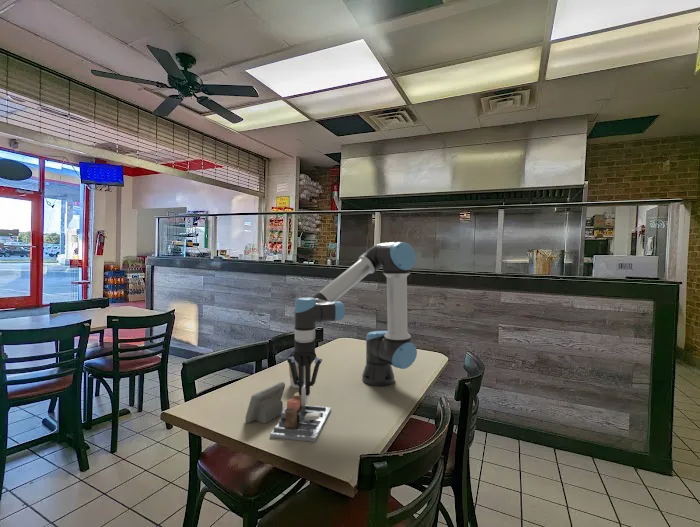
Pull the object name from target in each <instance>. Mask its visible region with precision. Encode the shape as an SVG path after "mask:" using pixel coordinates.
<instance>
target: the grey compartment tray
mask: <svg viewBox="0 0 700 527" xmlns="http://www.w3.org/2000/svg"><path fill="white" fill-rule="evenodd" d="M286 411H287V405H286V406H285V407H284V409H283V411H282V412H281V415H280V419H279V421H278V422H277V424H276V425H275V426H274V427H273V429H272V431H271V432H270V433H269V435H270V436H269V437H270V438H273V439H274V438H275V439H281V440H282V439H283V440H291V441H293V440H294V441H300V442H312V443H316V441H317V440H318V438H319V435H320V434H321V432H322V430H323V427H324V425H325V424H326V421H327V419H328V417H329V415H330V413H331V411H332V408H331V407H327V406H322V405H321V406H320V405H308V404H306V405H304V406H300V410H299V411H298V412H297V427H296V428H295V429H294V428H285V412H286ZM314 412H320V413H321V416H320V418H319V419H317V420H305V419H304V417H305V415H306V414H307V413H314Z"/></svg>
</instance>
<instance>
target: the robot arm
mask: <svg viewBox="0 0 700 527" xmlns="http://www.w3.org/2000/svg"><path fill="white" fill-rule="evenodd" d="M416 258H417V257H416V252H415V249H414V248H413V247H412V246H411V245H410V243H407V242H402V241H392V242H391V241H390V242H380V243H378V244H375V245H373V246H372V247H370V248H369V249H368V250H366V251H365V252H363V253H362V254H361V255H360V256H359V257H358V260H357V261H356V262H355V263H354V264H351V265H350V267H348V268H347V269H346V270H345V271H344V272H342V273H340V275H338V276H337V277H336V278H334V279H333V280H332V281H331V282H329V283H328V284H327V285H325V287H323V288H322V289H321V290H319V291H318V292H317V293H316V294H314V295H313V296H307V297H298V298H297V299H295V302H294V303H295V304H294V351H295V352H294V351H293V352H294V354H293V356H292V357H290V358H289V359H288V358H287V360H286V361H287V363H288V366H289V365H290V368H291V372H292V377H293V381H294V384H295V385H298V386H299V388H298V393H299V395H301V405H308V404H307V403H308V396H310V394H311V387H314V385H315V384H316V380H317V377H318V372H319V369H320V365H321V363H322V362H323V359H322V358H319V357H317V354H316V341H315V339H316V324H319V323H320V324H321V323H330V322H331V323H332V322H337V321H342V320H343V319H344V317H345V316H346V308H345V305H344V303H343V302H342V301H339V299H340V298H341V297H342V296H343V295H345V294H346V293H347V292H349V290H351V289H352V288H353V287H354V286H356V285H357V284H358V283H359V282H360V281H362V280H363V279H364V278H365V277H367V275H369V274H374V273H375V272H377V271H378V270H381V269H382V274H383V275H384V276H385V277H386V302H387V303H386V305H387V306H386V308H387V309H386V310H387V311H386V312H387V313H386V315H387V318H386V319H387V330H375V331H373V330H372V331H370V332H367V334H366V338H365V343H366V344H365V345H366V351H365V352H366V354H365V356H366V357H365V359H366V360H365V366H364V369H363V372H362V375H361V376H362V378H361V380H362V382H363V383H365V384H367V385H369V386H374V387H375V386H376V387H385V386H390V385H393V383H395V373H394V370H393V367H394V368H398V369H401V370H405V369H408V368H410V367H411V366H412V365H413V364H414V363H415V361H416V358H417V356H418V349H417V346H415V344H414V343H413V342H412V336H411V334H410V333H409V332H408V280H407V279H408V278H407V277H408V276H409V275H410V274H411V269H412V268H414V266H415V264H416V262H417V261H416ZM337 300H338V301H337ZM295 360H296V362H297V363H298V368H299V378H298V374H297V369H296V365H295ZM312 363H314V368H313V371H311V366H312ZM304 366H305V369H306V374H305V385H303V384H304ZM311 372H312V375H311Z"/></svg>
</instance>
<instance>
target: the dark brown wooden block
mask: <svg viewBox="0 0 700 527" xmlns="http://www.w3.org/2000/svg"><path fill="white" fill-rule="evenodd" d="M296 427H297V409H294V408H288V409H287V411H286V412H285V428H294V429H295V428H296Z"/></svg>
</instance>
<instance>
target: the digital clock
mask: <svg viewBox="0 0 700 527" xmlns="http://www.w3.org/2000/svg"><path fill="white" fill-rule="evenodd" d="M285 388H286V383H285V382H284V381H281V382H278V383H275V384H272V385H270V386H268V387H265V388H263V389H262V390H260V391H258V392H255V393H253V394H252V395H251V396H250V400H249V404H248V407H247V411H246V414H245V417H244V418H245V420H244V421H245V423H247V424H248V423H253V422H254V421H257V422H259V423H262V424H267V423H269V422H272V420H274V419H276V418H277V417H279V416H281V412H282V411H283V410H284V409H283V401H282V398H283V394H284V391H285Z"/></svg>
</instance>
